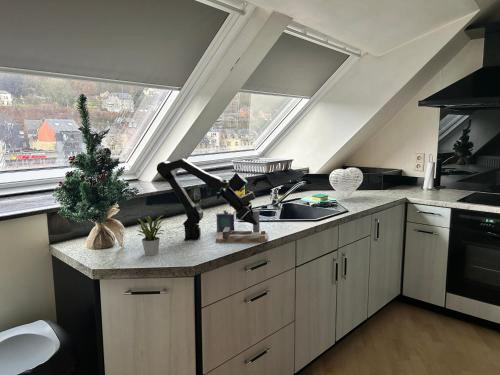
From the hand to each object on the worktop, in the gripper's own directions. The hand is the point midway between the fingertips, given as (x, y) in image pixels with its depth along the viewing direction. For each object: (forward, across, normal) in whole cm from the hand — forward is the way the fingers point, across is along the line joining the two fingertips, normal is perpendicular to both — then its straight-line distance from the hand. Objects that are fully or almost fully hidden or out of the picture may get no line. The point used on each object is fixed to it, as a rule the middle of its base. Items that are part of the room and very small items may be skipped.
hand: (257, 222), depth 176 cm
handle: (+4, 0, +5) cm, 6 cm away
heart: (+47, +102, -35) cm, 118 cm away
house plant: (-24, -21, +35) cm, 47 cm away
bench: (+1, 0, +11) cm, 11 cm away
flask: (-6, +14, +17) cm, 23 cm away
